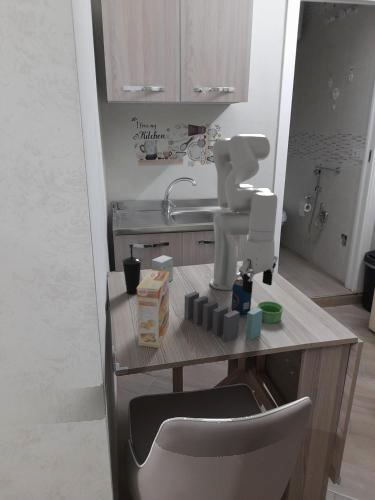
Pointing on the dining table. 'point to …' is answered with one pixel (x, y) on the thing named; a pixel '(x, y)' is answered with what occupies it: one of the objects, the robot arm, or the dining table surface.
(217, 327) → the tile
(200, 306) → the tile
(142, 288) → the coffeecake box
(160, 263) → the small box
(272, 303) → the ramekin
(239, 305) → the soda can
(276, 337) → the dining table surface
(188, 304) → the tile
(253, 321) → the teal tile
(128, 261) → the drinking cup
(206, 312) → the tile
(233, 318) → the tile
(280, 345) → the dining table surface
